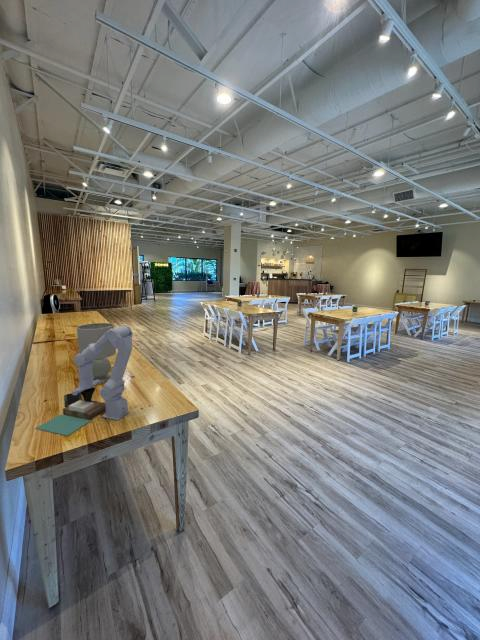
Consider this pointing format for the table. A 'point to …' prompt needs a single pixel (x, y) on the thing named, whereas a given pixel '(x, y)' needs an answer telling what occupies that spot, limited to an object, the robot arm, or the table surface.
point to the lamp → (101, 363)
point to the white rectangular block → (81, 406)
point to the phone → (71, 399)
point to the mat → (63, 425)
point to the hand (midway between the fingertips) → (88, 402)
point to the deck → (89, 414)
